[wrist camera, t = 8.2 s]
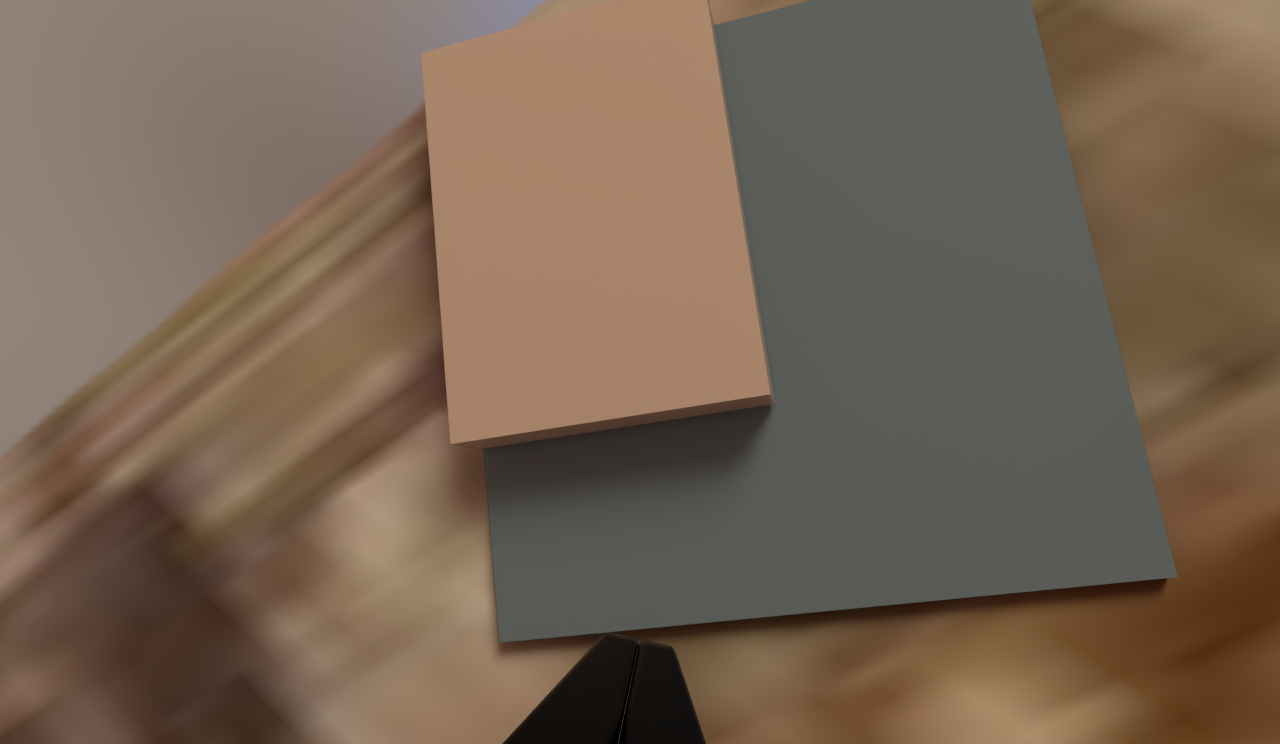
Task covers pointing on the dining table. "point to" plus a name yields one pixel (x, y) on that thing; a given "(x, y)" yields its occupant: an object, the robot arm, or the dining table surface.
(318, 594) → the dining table surface
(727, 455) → the mat
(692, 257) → the tile
